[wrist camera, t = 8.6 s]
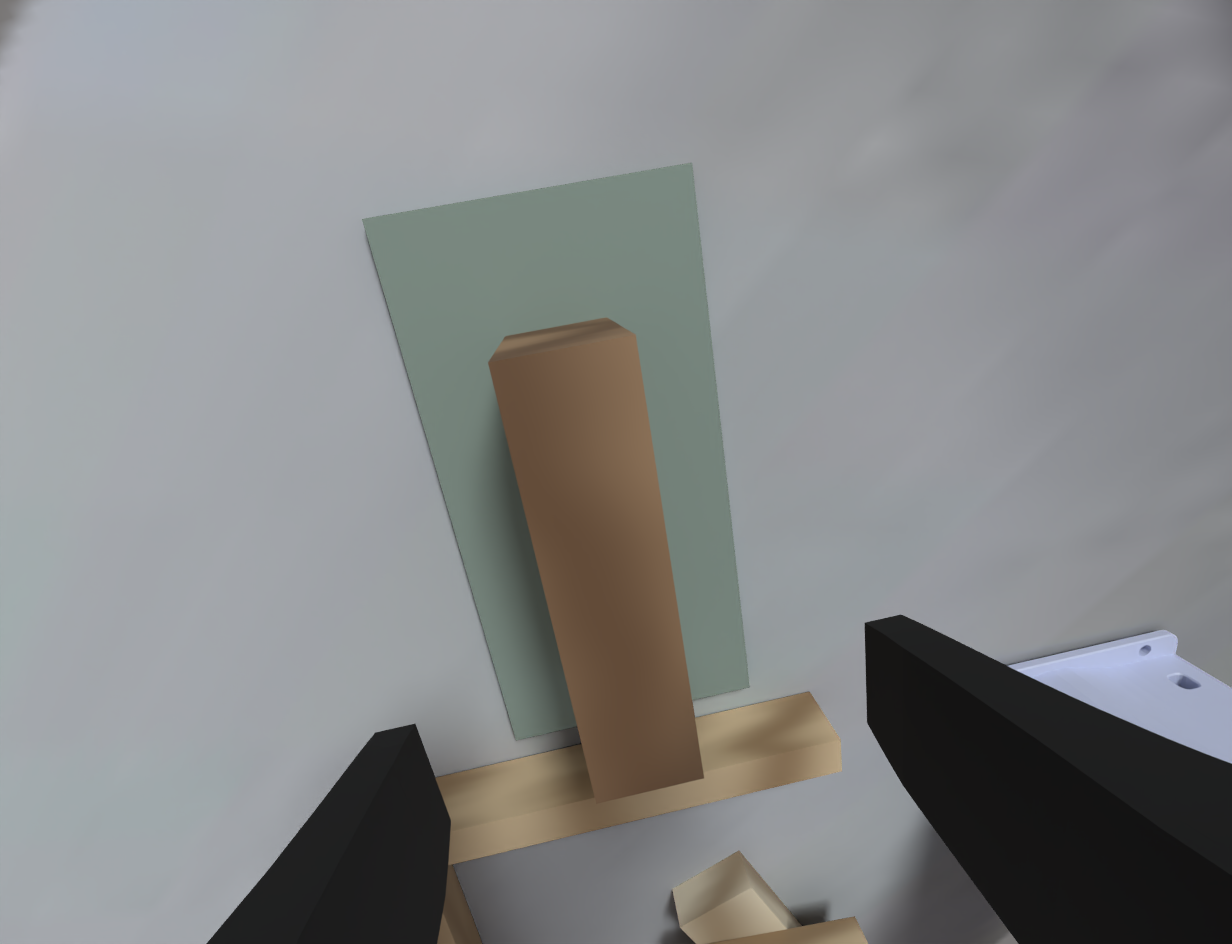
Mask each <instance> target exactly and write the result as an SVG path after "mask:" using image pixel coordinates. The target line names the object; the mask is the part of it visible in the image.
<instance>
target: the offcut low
mask: <svg viewBox="0 0 1232 944" xmlns="http://www.w3.org/2000/svg"><path fill="white" fill-rule="evenodd" d="M672 890H673V895H674V900H675V905H676V910H677V915H678V920H679V925H680V928H681V929H682V930H683V931H684V932H685V933H686V934H687V935H688V936H689V937H690V938H691V939H692V940H693V941H694V942H695V943H696V944H710V943H716V942H721V941H726V940H732V939H737V938H742V937H748V936H753V935H758V934H764V933H769V932H774V931H780V930H786V929H790V928H796V927H801V926H802V925H801V924H800V923H799V922H798V921H797V919H796V918H795V917H794V916H793V915H792V913H791V912H790V911H789V910H788V909H787V907H786V906H785V905H784V904H783V903H782V901H781V900H780V899H779V898H778V897H777V895H776V894H775V893H774V892H773V891H772V889H771V888H770V887H769V886H768V885H767V883H766V882H765V881H764V880H763V879H762V877H761V876H760V875H759V874H758V873H757V871H756V870H755V869H754V868H753V867H752V865H751V864H750V863H749V862H748V861H747V859H746V858H745V857H744V856H743V855H742V853H741V852H740V851H738V852H736V853H734V854H732V855H731V856H729V857H727V858H725V859H724V860H722V861H720V862H718V863H717V864H715V865H713V866H712V867H710V868H708V869H706V870H705V871H703V872H701V873H699V874H698V875H696V876H694V877H692V878H691V879H689V880H687V881H685V882H684V883H682V884H680V885H679V886H677V887H675V888H673V889H672Z"/></svg>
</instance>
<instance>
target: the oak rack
mask: <svg viewBox="0 0 1232 944" xmlns="http://www.w3.org/2000/svg"><path fill="white" fill-rule="evenodd" d="M695 722H696V728H697V735H698V741H699V748H700V754H701V761H702V767H703V774H704V779H699V780H695V781H691V782H687V783H683V784H678V785H674V786H670V787H666V788H661V789H657V790H653V791H649V792H645V793H640V794H636V795H632V796H628V797H623V798H619V799H615V800H611V801H607V802H602V803H598V804H596V800H595V796H594V792H593V788H592V784H591V780H590V776H589V772H588V768H587V764H586V760H585V756H584V752H583V748H582V744H580V745H575V746H571V747H567V748H562V749H558V750H554V751H549V752H545V753H541V754H536V755H532V756H528V757H523V758H519V759H515V760H510V761H506V762H501V763H497V764H493V765H488V766H484V767H480V768H475V769H471V770H467V771H462V772H458V773H454V774H449V775H445V776H441V777H436V781H437V784H438V786H439V789H440V792H441V795H442V797H443V800H444V803H445V805H446V808H447V811H448V813H449V816H450V819H451V831H450V846H449V862H448V873H447V885H446V896H445V902H444V908H443V914H442V919H441V925H440V931H439V936H438V942H437V944H482V941H481V938H480V936H479V933H478V931H477V928H476V925H475V923H474V920H473V917H472V915H471V912H470V910H469V907H468V904H467V902H466V899H465V897H464V894H463V891H462V889H461V886H460V883H459V881H458V878H457V876H456V873H455V870H454V868H453V865H452V864H456V863H460V862H465V861H469V860H473V859H477V858H481V857H485V856H490V855H494V854H498V853H502V852H506V851H511V850H515V849H519V848H523V847H527V846H531V845H536V844H540V843H544V842H548V841H552V840H556V839H561V838H565V837H569V836H573V835H577V834H581V833H586V832H590V831H594V830H598V829H602V828H607V827H611V826H615V825H619V824H623V823H627V822H632V821H636V820H640V819H644V818H648V817H652V816H657V815H661V814H665V813H669V812H673V811H678V810H682V809H686V808H690V807H694V806H698V805H703V804H707V803H711V802H715V801H719V800H723V799H728V798H732V797H736V796H740V795H744V794H748V793H753V792H757V791H761V790H765V789H769V788H774V787H778V786H782V785H786V784H790V783H794V782H799V781H803V780H807V779H811V778H815V777H819V776H824V775H828V774H832V773H836V772H840V771H842V762H841V740H840V738H839V736H838V735H837V733H836V732H835V730H834V729H833V727H832V726H831V724H830V723H829V721H828V719H827V718H826V716H825V715H824V713H823V712H822V710H821V709H820V707H819V705H818V704H817V702H816V701H815V699H814V698H813V696H812V695H811V693H810V692H806V693H801V694H797V695H793V696H788V697H784V698H780V699H775V700H771V701H767V702H762V703H758V704H753V705H749V706H745V707H740V708H736V709H732V710H727V711H723V712H719V713H714V714H710V715H706V716H701V717H697V718H695Z"/></svg>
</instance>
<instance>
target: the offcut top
mask: <svg viewBox="0 0 1232 944" xmlns="http://www.w3.org/2000/svg"><path fill="white" fill-rule="evenodd" d="M710 944H868V942H867V940H866V938H865V936H864V934H863V932H862V930H861V928H860V926H859V924H858V922H857V920H856V918H855V916H854V917H849V918H844V919H838V920H833V921H828V922H822V923H817V924H812V925H806V926H801V927H796V928H790V929H786V930H780V931H774V932H769V933H764V934H758V935H753V936H748V937H742V938H737V939H732V940H726V941H721V942H716V943H710Z"/></svg>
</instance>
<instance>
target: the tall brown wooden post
mask: <svg viewBox="0 0 1232 944" xmlns="http://www.w3.org/2000/svg"><path fill="white" fill-rule="evenodd" d="M488 365H489V369H490V373H491V377H492V381H493V385H494V389H495V393H496V398H497V402H498V406H499V410H500V414H501V418H502V422H503V426H504V430H505V434H506V438H507V442H508V446H509V450H510V455H511V459H512V463H513V467H514V471H515V475H516V479H517V483H518V487H519V491H520V495H521V499H522V503H523V507H524V512H525V516H526V520H527V524H528V528H529V532H530V536H531V540H532V544H533V548H534V552H535V556H536V560H537V564H538V568H539V573H540V577H541V581H542V585H543V589H544V593H545V597H546V601H547V605H548V609H549V613H550V617H551V621H552V625H553V630H554V634H555V638H556V642H557V646H558V650H559V654H560V658H561V662H562V666H563V670H564V674H565V678H566V682H567V687H568V691H569V695H570V699H571V703H572V707H573V711H574V715H575V719H576V723H577V727H578V731H579V735H580V739H581V743H582V748H583V752H584V756H585V760H586V764H587V768H588V772H589V776H590V780H591V784H592V788H593V792H594V796H595V800H596V804H598V803H602V802H607V801H611V800H615V799H619V798H623V797H628V796H632V795H636V794H640V793H645V792H649V791H653V790H657V789H661V788H666V787H670V786H674V785H678V784H683V783H687V782H691V781H695V780H699V779H704V774H703V767H702V761H701V754H700V748H699V741H698V735H697V728H696V722H695V715H694V709H693V702H692V696H691V689H690V683H689V677H688V670H687V664H686V657H685V651H684V644H683V638H682V631H681V625H680V618H679V612H678V605H677V599H676V592H675V586H674V579H673V573H672V566H671V560H670V553H669V547H668V541H667V534H666V528H665V521H664V515H663V508H662V502H661V495H660V489H659V482H658V476H657V469H656V463H655V456H654V450H653V443H652V437H651V430H650V424H649V417H648V411H647V404H646V398H645V392H644V385H643V379H642V372H641V366H640V359H639V353H638V346H637V340H636V335H635V334H634V333H632V332H630V331H629V330H627V329H625V328H624V327H622V326H620V325H619V324H617V323H615V322H614V321H612V320H611V319H609V318H607V317H606V318H600V319H595V320H590V321H584V322H579V323H573V324H568V325H563V326H557V327H552V328H546V329H541V330H536V331H530V332H525V333H520V334H514V335H509V336H505V337H504V339H503V340H502V342H501V343H500V345H499V346H498V348H497V349H496V351H495V353H494V354H493V356H492V357H491V359H490V360H489V362H488Z"/></svg>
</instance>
